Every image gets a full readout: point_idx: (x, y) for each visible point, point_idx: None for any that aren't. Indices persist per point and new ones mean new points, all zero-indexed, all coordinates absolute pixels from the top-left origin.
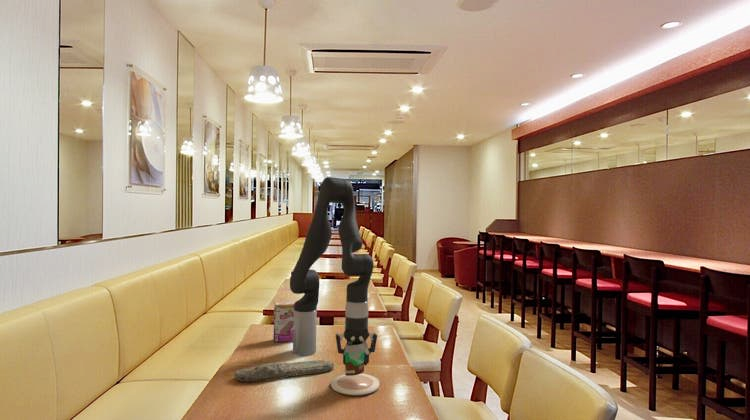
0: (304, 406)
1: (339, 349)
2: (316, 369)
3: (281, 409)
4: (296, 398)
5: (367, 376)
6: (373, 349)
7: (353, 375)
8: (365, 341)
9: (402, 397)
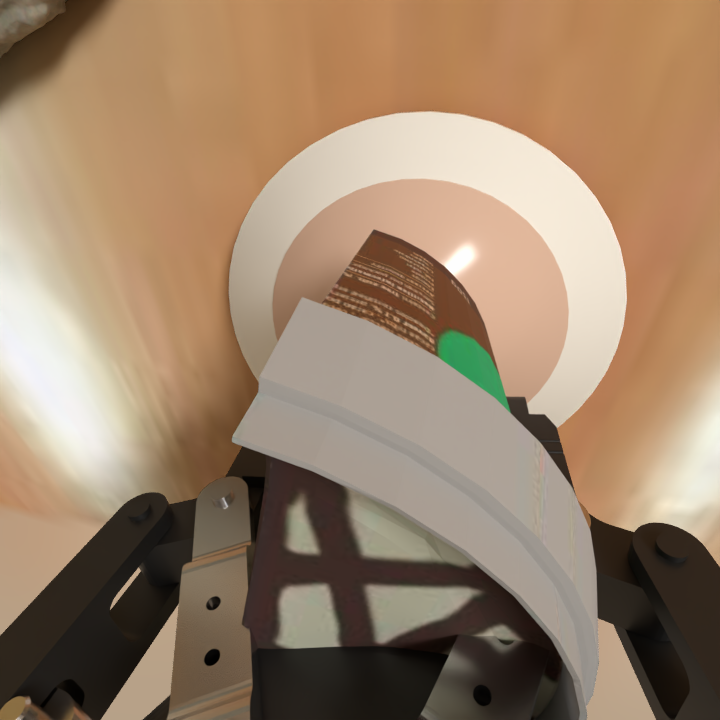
0: (178, 495)
1: (154, 603)
2: (12, 39)
3: (101, 502)
4: (111, 429)
5: (540, 211)
6: (660, 643)
7: (400, 194)
8: (564, 686)
9: (710, 483)
